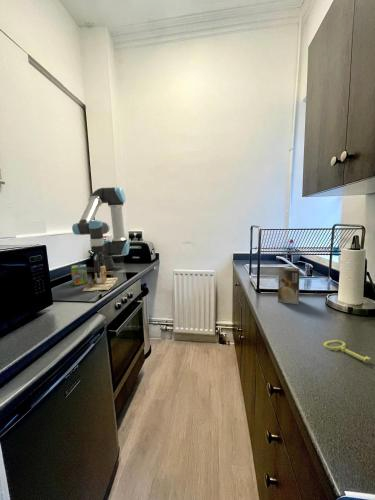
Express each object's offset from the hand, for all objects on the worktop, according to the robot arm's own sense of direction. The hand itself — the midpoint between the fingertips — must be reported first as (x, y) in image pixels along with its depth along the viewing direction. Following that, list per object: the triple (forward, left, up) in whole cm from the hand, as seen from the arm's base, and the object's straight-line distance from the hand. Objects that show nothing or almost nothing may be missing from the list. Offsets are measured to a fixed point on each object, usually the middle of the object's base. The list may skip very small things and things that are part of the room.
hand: (101, 280), depth 143 cm
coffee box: (+42, +101, -3) cm, 110 cm away
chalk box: (-7, -16, -3) cm, 17 cm away
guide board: (+1, 0, -2) cm, 3 cm away
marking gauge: (0, +2, -1) cm, 3 cm away
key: (+82, +98, -3) cm, 128 cm away
